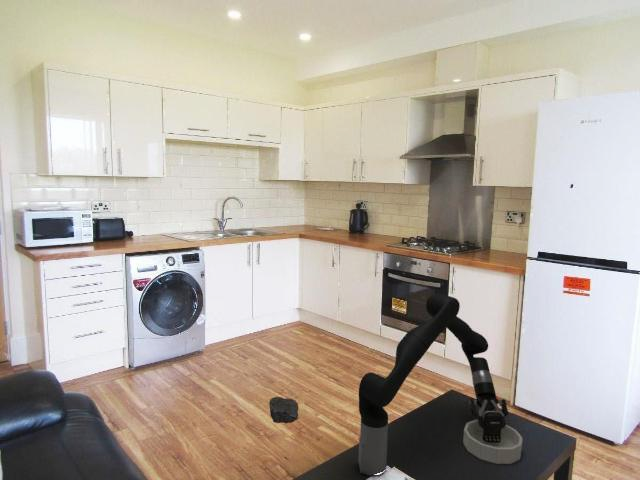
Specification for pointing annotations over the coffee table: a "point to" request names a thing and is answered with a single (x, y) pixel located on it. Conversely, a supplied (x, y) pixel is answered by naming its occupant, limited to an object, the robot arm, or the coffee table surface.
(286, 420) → the rock
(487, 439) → the battery charger
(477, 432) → the bowl
